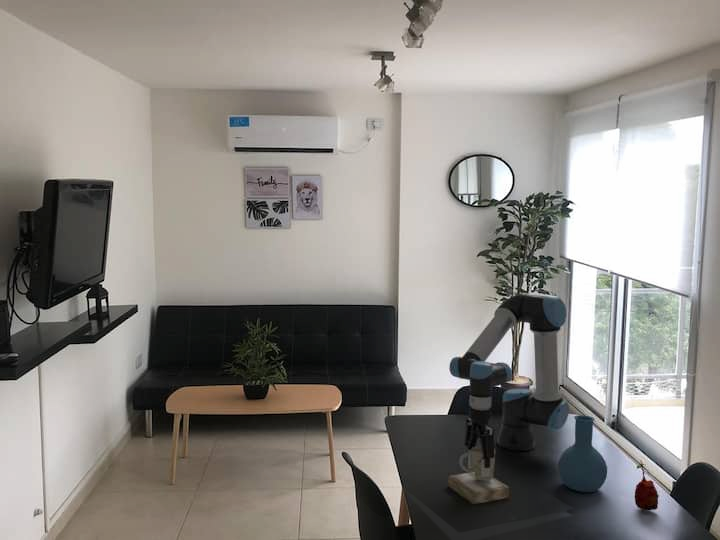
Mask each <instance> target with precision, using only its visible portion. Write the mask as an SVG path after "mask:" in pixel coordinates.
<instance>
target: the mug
mask: <svg viewBox="0 0 720 540" xmlns="http://www.w3.org/2000/svg"><path fill="white" fill-rule="evenodd" d="M496 453H497V451H496V448H495V447H494V455H495V457H494V458H490V468H489V476H487V477H481V469H482V457H483V452H482V446H481V445H476V446H475V447H472V448H471V453H468V452H465V453H463V454H462V455H461V456H460V458H459V460H458V463H459V466H460V468H461V469H462V470H463V471H465V473H470V472H475V478H476V479H478V480H484V481H486V480H491V479H493V478H494V473H495V460H496ZM467 457H472V459H473V466H474V468H473V469H469V468H466V467H465V465H464V459H466V458H467Z"/></svg>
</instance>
